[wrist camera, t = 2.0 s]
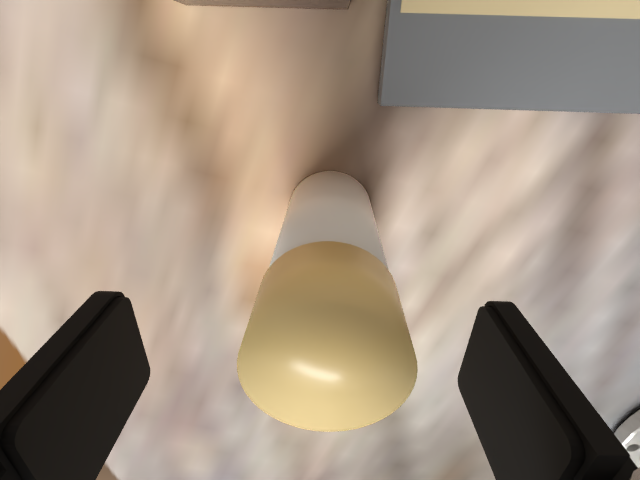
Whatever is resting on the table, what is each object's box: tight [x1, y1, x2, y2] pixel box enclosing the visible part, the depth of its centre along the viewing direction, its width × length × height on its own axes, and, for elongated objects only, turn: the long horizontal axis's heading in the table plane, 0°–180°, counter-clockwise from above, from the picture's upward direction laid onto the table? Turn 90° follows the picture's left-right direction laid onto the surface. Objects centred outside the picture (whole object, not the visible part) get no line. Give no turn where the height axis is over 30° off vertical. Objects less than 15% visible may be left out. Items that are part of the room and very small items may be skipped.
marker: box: [237, 171, 417, 432], centre depth 14 cm, size 5×5×11 cm
